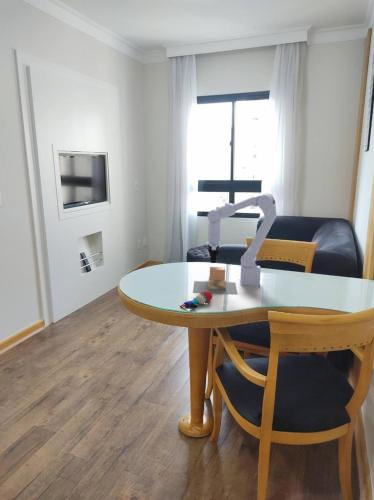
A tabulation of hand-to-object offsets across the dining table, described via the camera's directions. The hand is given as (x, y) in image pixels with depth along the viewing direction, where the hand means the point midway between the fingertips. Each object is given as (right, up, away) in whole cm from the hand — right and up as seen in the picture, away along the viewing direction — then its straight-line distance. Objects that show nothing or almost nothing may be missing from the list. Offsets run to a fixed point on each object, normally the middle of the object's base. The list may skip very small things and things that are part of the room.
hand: (213, 260), depth 180 cm
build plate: (0, -13, -11) cm, 17 cm away
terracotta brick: (+1, -8, -11) cm, 14 cm away
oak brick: (+1, -12, -10) cm, 16 cm away
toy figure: (-9, -18, -30) cm, 36 cm away
